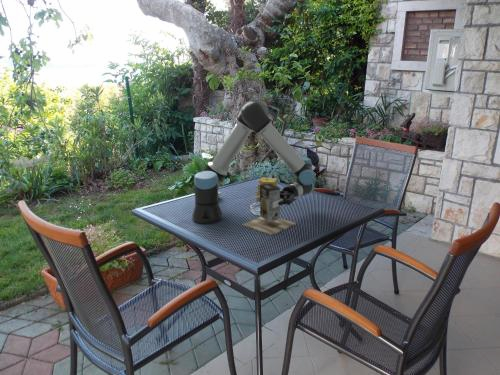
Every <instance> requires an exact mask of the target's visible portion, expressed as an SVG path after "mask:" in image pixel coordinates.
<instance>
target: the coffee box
mask: <svg viewBox="0 0 500 375" xmlns="http://www.w3.org/2000/svg"><path fill="white" fill-rule="evenodd" d="M280 191H281V188H280V187H278V185H277V186H275V185H273V184H262V185H260V202H259V208H260V209H259V211H260V212H259V216H260V217H262V218H264V219H265V220H266V221H268V222H272V221H277V220H279V218H280V219H281V217H280V215H281V214H280V212H281V208H280V206H281V205H280V206H278V207H275V208H273V202H275V201H277V200H280V199H281V198H280Z"/></svg>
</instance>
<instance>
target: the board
mask: <svg viewBox="0 0 500 375" xmlns="http://www.w3.org/2000/svg"><path fill="white" fill-rule="evenodd" d="M295 225H296V222H293V221H290V220H287V219H284V218H281V217H280V218H279V220H277V221H272V222H268V221H266V220H265V219H264V218H262V217H261V216H260V217H257V218H254V219H252V220H250V221H247V222H244V223H242V226H243V227H246V228H249V229H252V230H254V231H258V232H260V233H263V234H267V235H269V236H274V235H276V234H279V233H280V232H283V231H285V230H287V229H289V228H291V227H293V226H295Z"/></svg>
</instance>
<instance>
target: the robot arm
mask: <svg viewBox="0 0 500 375" xmlns="http://www.w3.org/2000/svg"><path fill="white" fill-rule="evenodd" d="M235 120H236V121H235V122H236V123H235V125H234V127H233V128H232V130H231V132H230V133H229V134H228V135H227V138H226V139H225V141H224V142H223V144H222V145H221V147H220V149H219V150H218V151H217V153H216V155H215V156H214V158H213V159H212V161H208V162H207V163H206V165H205V166H204V168H203V170H202V171H199V172H197V173H196V174H195V175H194V177H193V184H194V185H193V186H194V201H195V202H194V209H193V213H192V219H191V220H192V221H193V222H194V223H196V224H202V225H208V224H215V223H219V222H221V221H222V220H223V212H222V210H221V207H220V202H219V197H218V191H219V189H220V187H221V184H222V183H223V182H224V180H225V178H226V176H227V175H228V172H227V170H228V168H229V167H230V165H231V164H232V162H233V160H234V159H235V158H236V156H237V154H238V153H239V151H240V150H241V148H242V146H243V145H244V144H245V142H246V140H247V139H248V137H249V135H250V134H251V133H252V132H254V133H255V134H256V135H259V136H260V137H261V138H262V139H263V140H264V141H265V142H266V144H267V145H268V146H269V147H270V148H271V150H272V151H274V153H275V154H276V155H277V157H279V158H280V160H282V161H283V163H284V164H285V165H286V166H287V168H289V169H290V171H291V172H292V173H293V174H294V175H295V177H296V179H295V180H296V182H294V183H292V184H289V185H286V186H284V187H283V189H280V200H277V201H275V202H273V208H275V207H278V206H282V205H284V206H285V205H287V206H291V204H292V203H293V202H294V201H297V199H298V198H300V197H301V198H302V197H303V196H306V195H309V194H310V193H312V192H313V191H314V190H315V183H314V181H315V179H316V177H315V172H314V170H313V169H312V159H311V158H309V157H301V156H300V154H299V153H297V152H296V151H295V149H294V148H293V147H292V146H291V144H289V143H288V141H287V140H286V139H285V138H284V136H282V134H281V133H280V132H279V131H278V130H277V129H276V127H275V126H274V125H273V123H272V122H273V120H272V119H271V118H270V117H269V116H268V113H267V112H266V107H265V104H264V103H263V102H261V100H259V99H250V100H247V101H246V102H245V103H244V104H243V106H242V108H241V110H240V111H239V113H238V114H237V116H236V118H235ZM254 203H255V204H257V203H260V196H257V195H256V196H255V197H254Z"/></svg>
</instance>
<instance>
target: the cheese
mask: <svg viewBox="0 0 500 375" xmlns="http://www.w3.org/2000/svg"><path fill="white" fill-rule="evenodd" d="M262 184H273V185H275V186H277V187H278V178H277V177H264V176H263V177H260V178H259V179H258V184H257V186H256V187H257V188H256V189H257V192H256V197H257V196H260V185H262Z"/></svg>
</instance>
